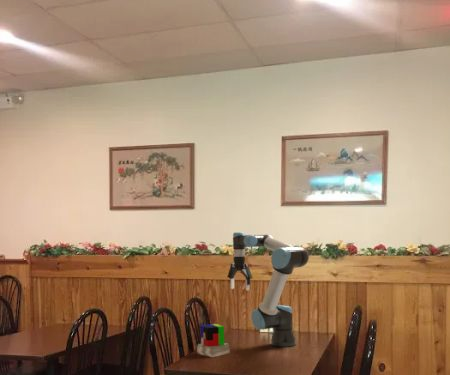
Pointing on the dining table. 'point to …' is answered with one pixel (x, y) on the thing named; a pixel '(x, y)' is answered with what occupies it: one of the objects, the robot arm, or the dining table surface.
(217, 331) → the puzzle toy
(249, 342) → the dining table surface
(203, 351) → the plinth
